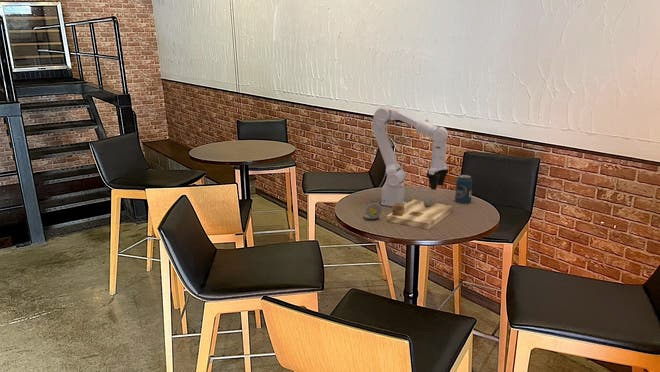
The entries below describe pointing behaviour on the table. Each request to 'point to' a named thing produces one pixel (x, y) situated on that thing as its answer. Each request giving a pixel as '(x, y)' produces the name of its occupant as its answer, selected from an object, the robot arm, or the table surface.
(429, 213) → the deck
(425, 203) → the ball
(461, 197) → the soda can
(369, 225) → the table surface
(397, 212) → the walnut cube
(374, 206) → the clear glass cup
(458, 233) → the table surface
